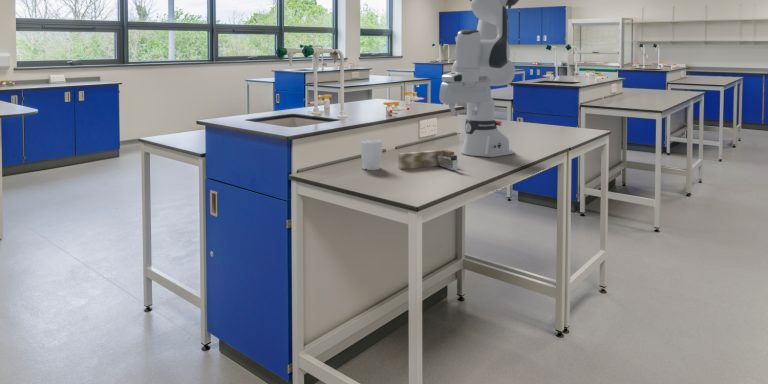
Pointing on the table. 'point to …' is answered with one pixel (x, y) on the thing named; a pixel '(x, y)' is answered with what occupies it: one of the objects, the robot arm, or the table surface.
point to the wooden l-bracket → (421, 158)
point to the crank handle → (447, 161)
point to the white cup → (371, 154)
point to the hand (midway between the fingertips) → (464, 115)
